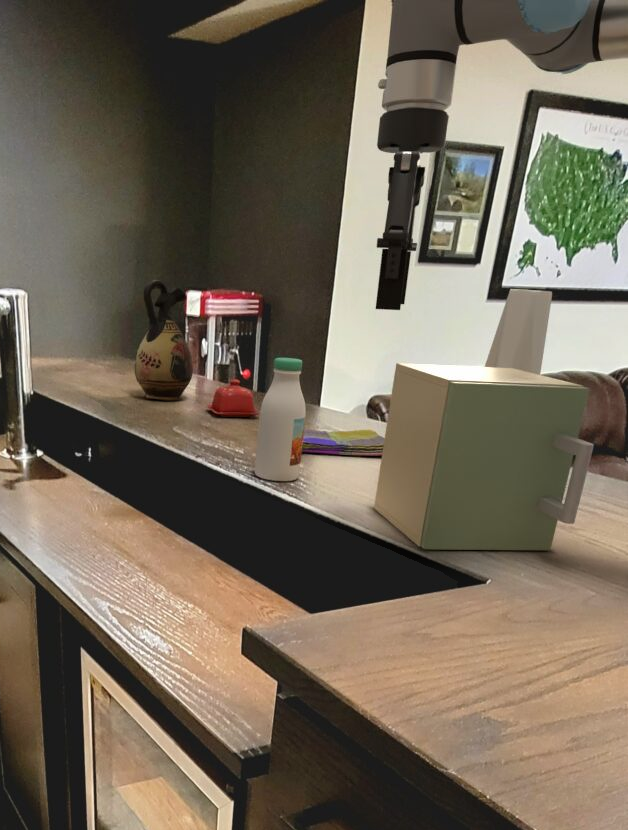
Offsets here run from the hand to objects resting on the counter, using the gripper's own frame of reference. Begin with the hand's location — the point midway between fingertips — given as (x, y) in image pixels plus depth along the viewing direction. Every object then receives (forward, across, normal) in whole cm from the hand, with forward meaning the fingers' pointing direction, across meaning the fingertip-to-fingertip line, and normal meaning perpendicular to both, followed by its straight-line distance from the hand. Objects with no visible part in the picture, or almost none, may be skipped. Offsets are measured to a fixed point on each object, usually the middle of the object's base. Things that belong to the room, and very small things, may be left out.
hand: (390, 306), depth 89 cm
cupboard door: (+30, +1, +17) cm, 35 cm away
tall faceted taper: (+32, -45, +20) cm, 59 cm away
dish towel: (+31, -52, -12) cm, 62 cm away
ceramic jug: (+31, -85, -60) cm, 108 cm away
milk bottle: (+30, -24, -17) cm, 42 cm away
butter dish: (+31, -74, -38) cm, 89 cm away
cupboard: (+30, -10, +12) cm, 34 cm away
